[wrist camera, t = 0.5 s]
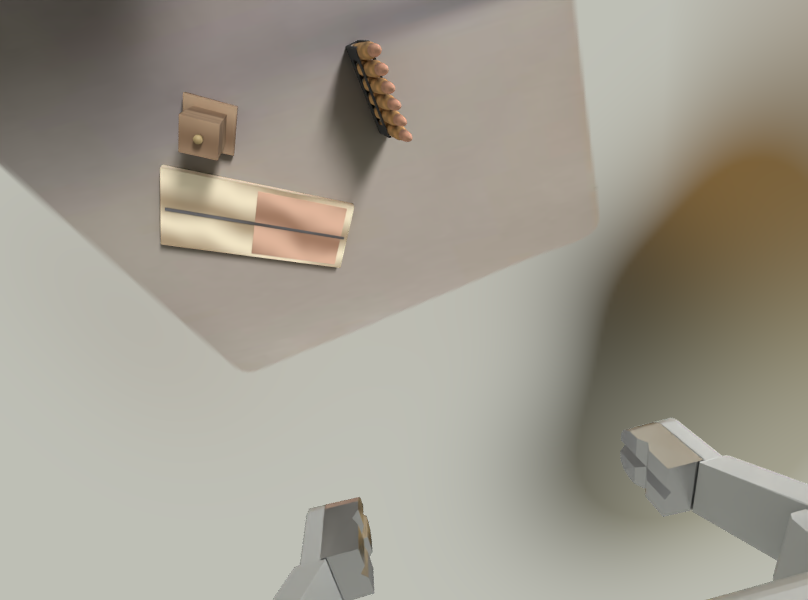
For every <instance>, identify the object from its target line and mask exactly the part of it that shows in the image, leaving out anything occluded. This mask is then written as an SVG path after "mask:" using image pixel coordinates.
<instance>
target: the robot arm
mask: <svg viewBox="0 0 808 600" xmlns="http://www.w3.org/2000/svg"><path fill="white" fill-rule="evenodd" d="M621 441H622V442H623V443H624V444H625V446H624V447H623V449H622V450H621V462H622V465H623V468H624V470H625V472H626V473H627V475H628V476H629V478H630V479H631V480H632V481H633V482H634V483H635V484H636V485H638V486H640V487H642V488H645V496H646V498H647V499H648V500H649V501H650V502H651V503H652V504H653V506H654V507H655V508H656V509H657V510H658V511H659V512H660V513H661V515H662V516H663V517H664V516H668V515H672V514H677V513H681V512H686V511H690V510H693V512H694V513H696V514H697V515H699V516H701V517H703V518H704V519H706V520H708V521H710V522H712V523H713V524H715V525H717V526H718V527H720V528H722V529H723V530H725V531H727V532H729V533H730V534H732V535H734V536H736V537H737V538H739V539H741V540H742V541H744V542H746V543H748V544H749V545H751V546H753V547H755V548H756V549H758V550H760V551H761V552H763V553H765V554H767V555H768V556H770V557H772V558H774V559H775V560H777V564H776V567H775V571H774V575H773V581H772V582H769V583H765V584H762V585H758V586H754V587H751V588H747V589H744V590H740V591H737V592H733V593H729V594H726V595H722V596H718V597H715V598H711V599H707V600H808V484H806V483H804V482H801V481H798V480H795V479H792V478H790V477H787V476H784V475H782V474H779V473H776V472H773V471H770V470H768V469H765V468H762V467H759V466H756V465H754V464H751V463H748V462H745V461H743V460H740V459H737V458H734V457H732V456H729V455H724V456H722V455H720V454H719V453H718V452H717V451H715V450H714V449H713V448H711V447H710V446H709V445H708V444H707V443H705V442H704V441H703V440H701V439H700V438H699V437H698V436H697V435H695V434H694V433H693V432H691V431H690V430H689V429H688V428H687V427H685V426H684V425H682V423H680V422H679V421H678V420H676V419H674V418H668V419H664V420H660V421H656V422H651V423H647V424H644V425H640V426H636V427H633V428H629V429H625V430H623V432H622V434H621ZM371 553H372V539H371V532H370V527H369V522H368V519H367V516H366V515H364V514H363V504H362V501H361V498H360V497H358V498H353V499H349V500H344V501H340V502H335V503H331V504H326V505H323V506H318V507H314V508H310V509H309V511H308V513H307V516H306V523H305V531H304V538H303V546H302V554H301V560H300V565H299V566H296V567H294V569H293V570H292V572H291V573H290V575H289V576H288V578H287V579H286V581H285V582H284V584H283V585H282V586H281V588H280V590H279V591H278V593H277V594H276V595H275V597H274V598H273V600H353V599H357V598H360V597H364V596H367V595H370V594H374V576H373V566H372V563H371V560H370V555H371Z"/></svg>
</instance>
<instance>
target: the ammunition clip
mask: <svg viewBox="0 0 808 600" xmlns="http://www.w3.org/2000/svg"><path fill="white" fill-rule="evenodd" d="M346 49H347V52H348V54H349V57H350V59H351V62H352V64H353V67H354V69H355V72H356V74H357V77H358V79H359V82H360V84H361V87H362V89H363V92H364V94H365V97H366V99H367V102H368V104H369V107H370V109H371V112H372V114H373V117H374V119H375V122H376V124H377V127H378V129H379V132H380V133H381V134H383V135H385V136H387V137H388V138H391V136H392V137H394V138H396V139H397V140H403V141H406V142H409V141H411V140H412V135H411V133H410V132H409V131H407V130H406V129H405V128H404V127H403V126H405V125H406V124H407V120H406V118H405V117H404V116H402V115H401V114H400V113H399V112H398V111H396V110H399V109H400V108H401V103H400V102H399V101H398V100H397V99H395V98H394V97H393V96H392V95H389V94H391V93H393V92H394V91H395V86H394V85H393V83H391V82H389V81H387V80H386V79H385V78H383V77H382V76H384V75H386V74H387V73H388V70H389V69H388V67H387V65H386V64H384V63H381V62H380V61H378V60H376V58H375V57H377V56H379V55H380V54H381V51H382V49H381V47H380V45H378V44H376V43H373V42H370V41H369V40H357V41H355V42H353V43H351V44H349V45H347V46H346ZM371 59H373V60H371Z"/></svg>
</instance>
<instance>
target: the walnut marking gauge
mask: <svg viewBox="0 0 808 600" xmlns="http://www.w3.org/2000/svg"><path fill="white" fill-rule="evenodd" d="M237 110H238V106H234V105H231V104H227V103H223V102H220V101H216V100H212V99H209V98H205V97H202V96H198V95H194V94H191V93H187V92H184V93H183V112H182V113H180V114H179V146H178V152H181V153H185V154H190V155H195V156H199V157H204V158H208V159H213V160H217V161H218V159H219V157H220V155H221V153H223V154H228V155H232V156H234V150H235V137H236V124H237Z"/></svg>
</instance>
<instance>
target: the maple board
mask: <svg viewBox="0 0 808 600" xmlns="http://www.w3.org/2000/svg"><path fill="white" fill-rule="evenodd" d="M160 210H161V245H169V246H177V247H184V248H192V249H200V250H207V251H215V252H223V253H230V254H238V255H246V256H253V257H261V258H269V259H276V260H284V261H291V262H299V263H307V264H314V265H322V266H330V267H337V268H340V266H341V262H342V258H343V254H344V249H345V245H346V241H347V236H348V232H349V228H350V223H351V219H352V215H353V210H354V205H353V204H352V203H348V202H343V201H338V200H333V199H328V198H323V197H318V196H313V195H308V194H304V193H299V192H294V191H289V190H284V189H279V188H274V187H269V186H264V185H260V184H255V183H250V182H245V181H240V180H235V179H230V178H225V177H220V176H215V175H211V174H206V173H201V172H196V171H191V170H186V169H181V168H176V167H171V166H166V165H162V166H161V167H160Z"/></svg>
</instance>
